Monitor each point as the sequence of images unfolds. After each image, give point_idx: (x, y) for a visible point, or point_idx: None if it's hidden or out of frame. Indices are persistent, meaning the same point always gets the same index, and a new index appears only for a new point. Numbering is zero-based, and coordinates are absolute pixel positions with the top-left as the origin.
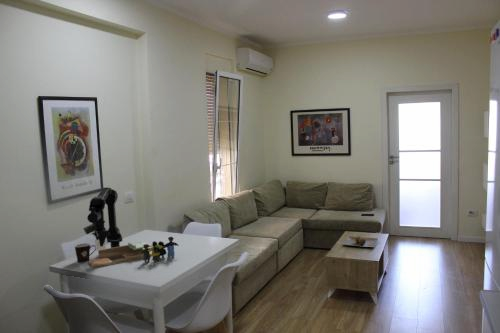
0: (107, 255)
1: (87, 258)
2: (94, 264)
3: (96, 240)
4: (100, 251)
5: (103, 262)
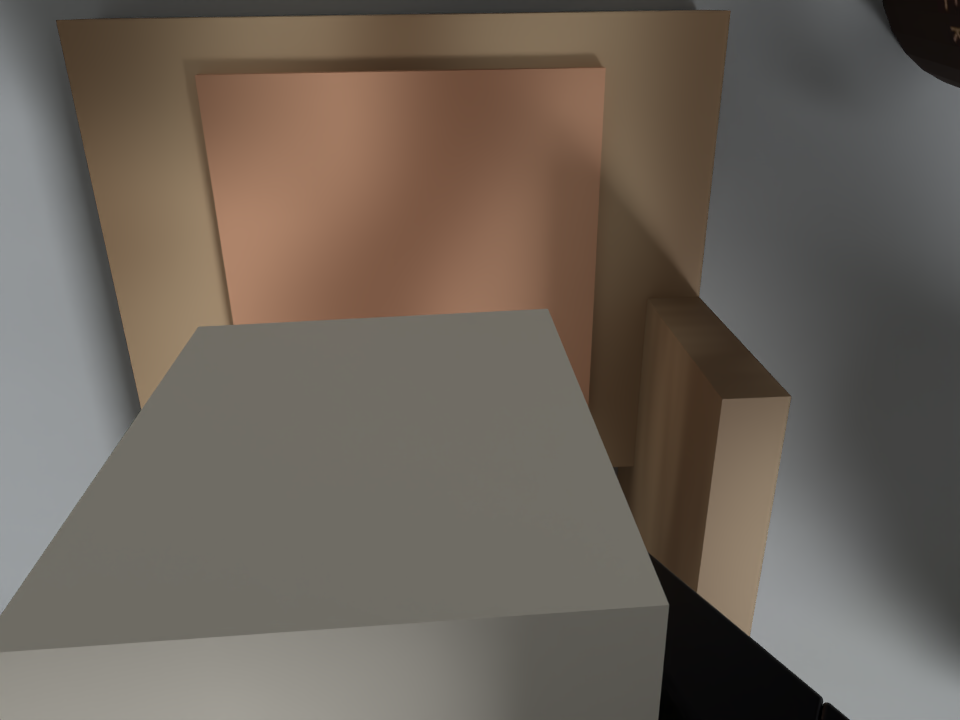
0: (643, 501)
1: (934, 30)
2: (173, 60)
3: (392, 659)
4: (701, 425)
5: (232, 307)
